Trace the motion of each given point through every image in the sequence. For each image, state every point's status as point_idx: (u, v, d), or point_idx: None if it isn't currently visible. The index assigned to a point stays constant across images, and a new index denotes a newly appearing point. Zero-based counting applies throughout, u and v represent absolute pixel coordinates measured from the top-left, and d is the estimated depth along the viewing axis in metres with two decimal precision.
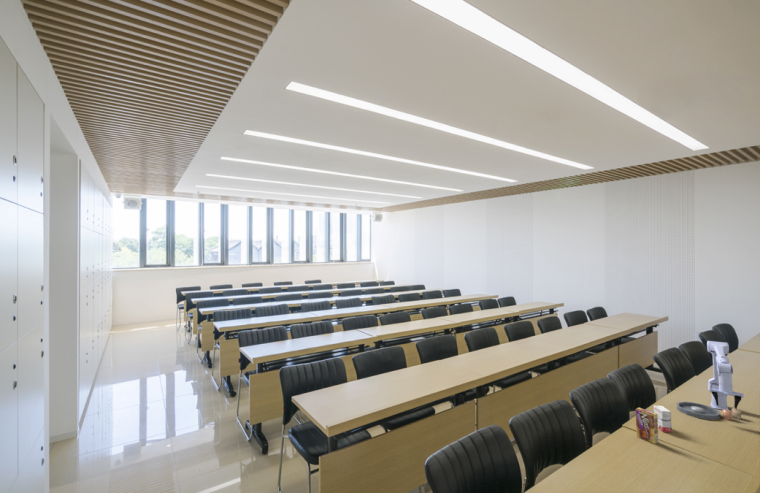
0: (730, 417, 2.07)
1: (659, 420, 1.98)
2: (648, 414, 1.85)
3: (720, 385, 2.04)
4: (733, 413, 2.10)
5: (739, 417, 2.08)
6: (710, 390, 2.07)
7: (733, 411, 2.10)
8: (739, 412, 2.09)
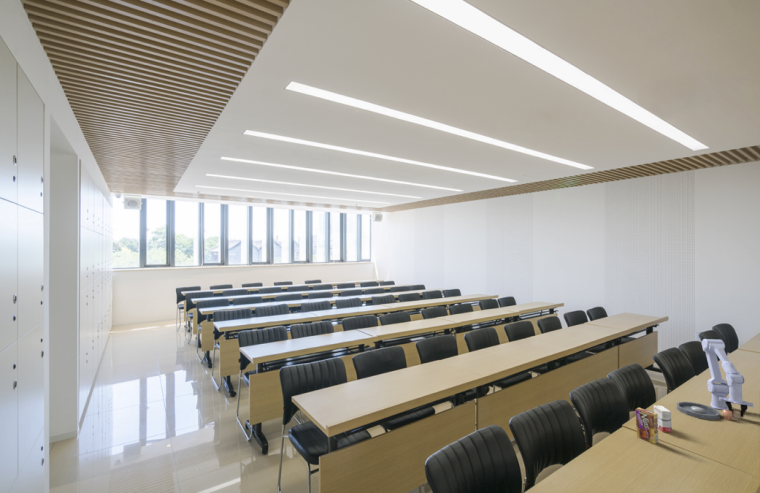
0: (730, 417, 2.07)
1: (659, 420, 1.98)
2: (648, 414, 1.85)
3: (730, 395, 2.11)
4: (733, 413, 2.10)
5: (739, 417, 2.08)
6: (720, 399, 2.14)
7: (733, 411, 2.10)
8: (739, 412, 2.09)
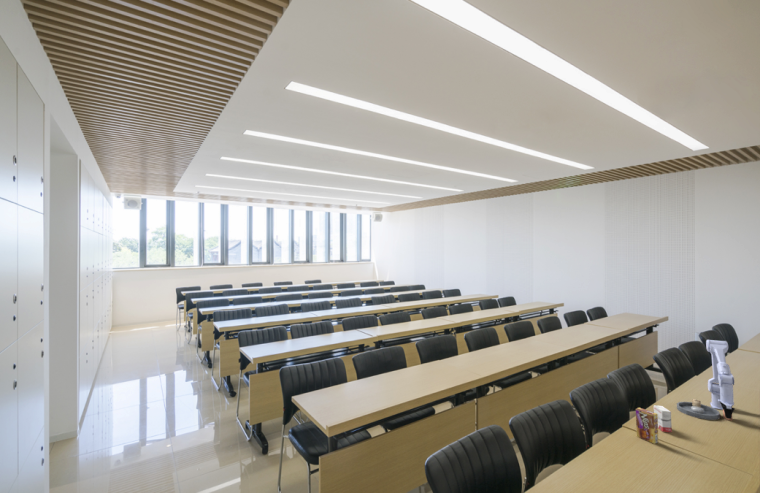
0: None
1: (659, 420, 1.98)
2: (648, 414, 1.85)
3: None
4: (693, 403, 2.23)
5: None
6: None
7: (693, 401, 2.23)
8: (699, 402, 2.21)
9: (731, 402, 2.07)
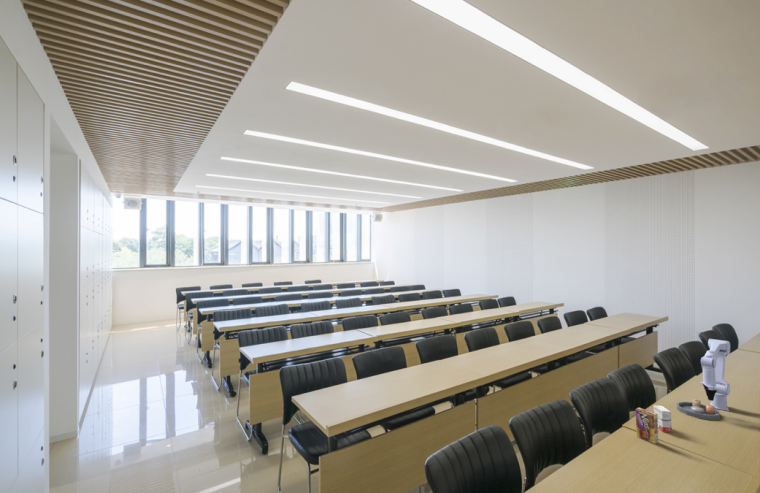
0: (713, 412, 2.13)
1: (659, 420, 1.98)
2: (648, 414, 1.85)
3: None
4: (693, 403, 2.23)
5: None
6: None
7: (693, 401, 2.23)
8: (699, 402, 2.21)
9: (713, 384, 2.13)
